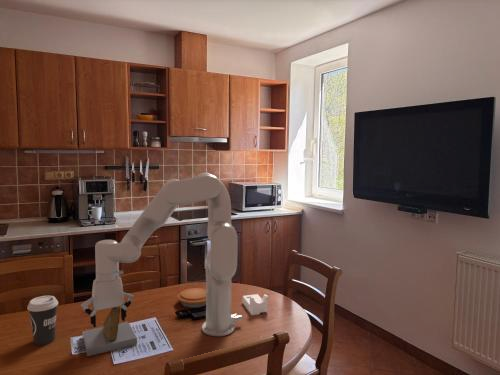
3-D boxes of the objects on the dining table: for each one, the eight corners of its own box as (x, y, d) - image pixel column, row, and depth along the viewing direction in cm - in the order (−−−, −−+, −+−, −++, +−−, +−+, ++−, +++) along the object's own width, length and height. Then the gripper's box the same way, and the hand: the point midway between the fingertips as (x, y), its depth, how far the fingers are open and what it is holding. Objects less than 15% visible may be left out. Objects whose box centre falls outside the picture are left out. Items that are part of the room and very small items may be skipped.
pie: (170, 303, 166) (170, 292, 166) (196, 293, 178) (196, 283, 178) (193, 313, 156) (193, 302, 156) (219, 302, 168) (219, 291, 168)
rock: (122, 335, 128) (132, 318, 137) (106, 317, 126) (117, 301, 136) (99, 351, 129) (111, 333, 139) (82, 333, 128) (95, 317, 138)
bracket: (267, 313, 158) (267, 296, 157) (251, 315, 156) (251, 298, 155) (257, 301, 170) (257, 285, 169) (242, 303, 168) (242, 287, 167)
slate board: (128, 327, 143) (128, 321, 143) (136, 344, 131) (136, 337, 131) (82, 337, 135) (82, 331, 135) (87, 356, 123) (87, 349, 123)
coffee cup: (38, 350, 126) (36, 307, 125) (23, 342, 131) (21, 301, 130) (65, 338, 135) (63, 298, 133) (50, 331, 140) (48, 292, 138)
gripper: (130, 269, 138) (131, 313, 140) (79, 276, 130) (81, 323, 132) (135, 275, 132) (136, 321, 134) (81, 283, 123) (83, 332, 125)
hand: (108, 322), depth 133 cm, fingers open, 9 cm apart
